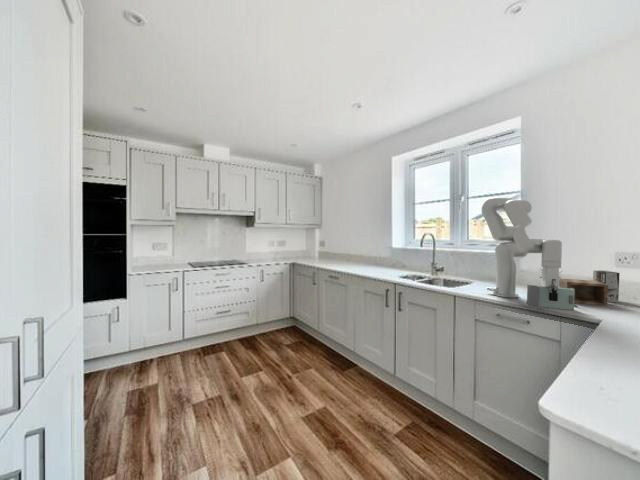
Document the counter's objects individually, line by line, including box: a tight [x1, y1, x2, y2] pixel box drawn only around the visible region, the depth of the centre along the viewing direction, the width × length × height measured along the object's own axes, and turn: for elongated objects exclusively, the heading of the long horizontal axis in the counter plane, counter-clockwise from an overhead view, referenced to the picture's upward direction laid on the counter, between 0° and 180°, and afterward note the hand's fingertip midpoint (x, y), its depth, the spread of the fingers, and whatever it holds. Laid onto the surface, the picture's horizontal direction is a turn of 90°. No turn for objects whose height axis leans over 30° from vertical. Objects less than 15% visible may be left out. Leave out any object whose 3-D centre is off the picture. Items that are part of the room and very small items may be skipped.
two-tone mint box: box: [526, 284, 575, 311], centre depth 134 cm, size 18×4×10 cm, turn 63°
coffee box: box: [592, 270, 620, 303], centre depth 149 cm, size 9×6×16 cm
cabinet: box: [558, 277, 608, 308], centre depth 142 cm, size 18×22×11 cm
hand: (550, 298), depth 134 cm, fingers open, 8 cm apart
